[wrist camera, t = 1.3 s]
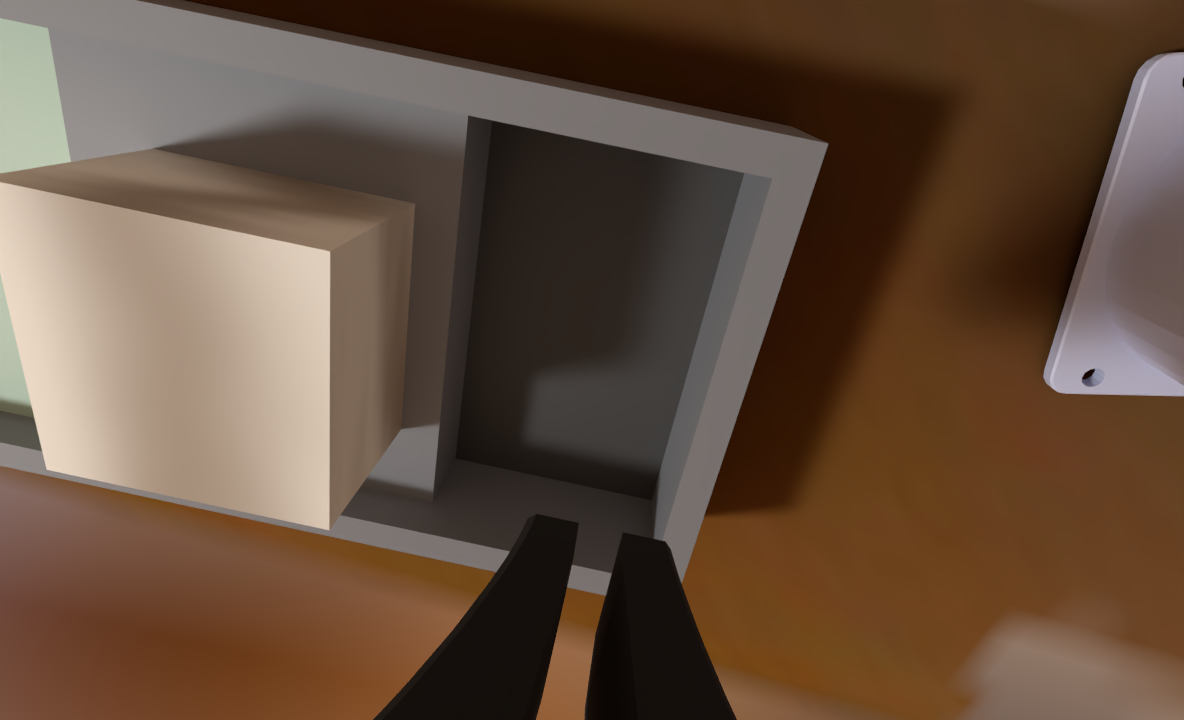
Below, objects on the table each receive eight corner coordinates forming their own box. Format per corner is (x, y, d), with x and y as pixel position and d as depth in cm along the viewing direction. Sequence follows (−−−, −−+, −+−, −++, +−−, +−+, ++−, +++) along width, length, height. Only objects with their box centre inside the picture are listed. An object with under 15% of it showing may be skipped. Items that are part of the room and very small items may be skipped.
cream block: (415, 203, 14) (330, 251, 10) (401, 429, 17) (329, 529, 13) (152, 148, 14) (-23, 177, 10) (179, 382, 17) (46, 469, 13)
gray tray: (790, 125, 15) (828, 143, 12) (670, 519, 20) (672, 609, 17) (-434, -128, 15) (-742, -182, 12) (-241, 325, 20) (-417, 376, 17)
